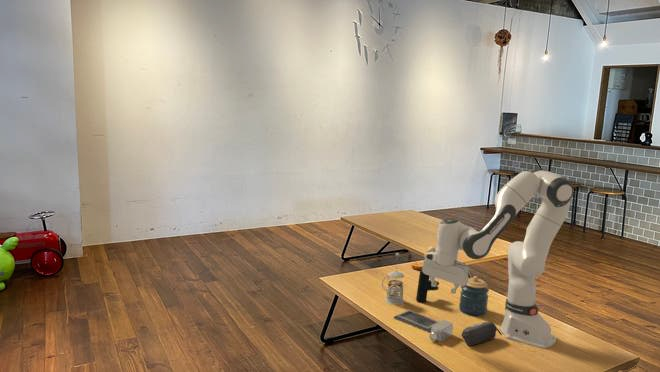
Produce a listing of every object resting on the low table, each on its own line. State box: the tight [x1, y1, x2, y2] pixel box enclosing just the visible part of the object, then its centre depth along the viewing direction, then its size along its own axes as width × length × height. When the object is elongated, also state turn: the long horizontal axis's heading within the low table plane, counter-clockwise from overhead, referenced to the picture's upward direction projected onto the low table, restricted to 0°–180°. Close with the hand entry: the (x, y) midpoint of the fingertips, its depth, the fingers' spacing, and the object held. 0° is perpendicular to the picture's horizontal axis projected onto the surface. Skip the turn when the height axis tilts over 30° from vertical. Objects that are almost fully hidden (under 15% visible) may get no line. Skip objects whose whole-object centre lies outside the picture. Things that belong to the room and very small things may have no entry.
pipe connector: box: [415, 269, 440, 303], centre depth 246 cm, size 12×5×15 cm, turn 122°
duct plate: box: [393, 309, 440, 333], centre depth 221 cm, size 19×11×2 cm, turn 44°
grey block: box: [428, 319, 454, 343], centre depth 205 cm, size 4×12×6 cm, turn 137°
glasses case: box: [461, 321, 503, 346], centre depth 203 cm, size 18×10×8 cm, turn 123°
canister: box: [458, 275, 490, 317], centre depth 234 cm, size 13×13×18 cm
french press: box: [381, 252, 405, 306], centre depth 242 cm, size 10×12×25 cm
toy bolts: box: [410, 245, 436, 271], centre depth 294 cm, size 18×17×12 cm
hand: (443, 289), depth 203 cm, fingers open, 8 cm apart
